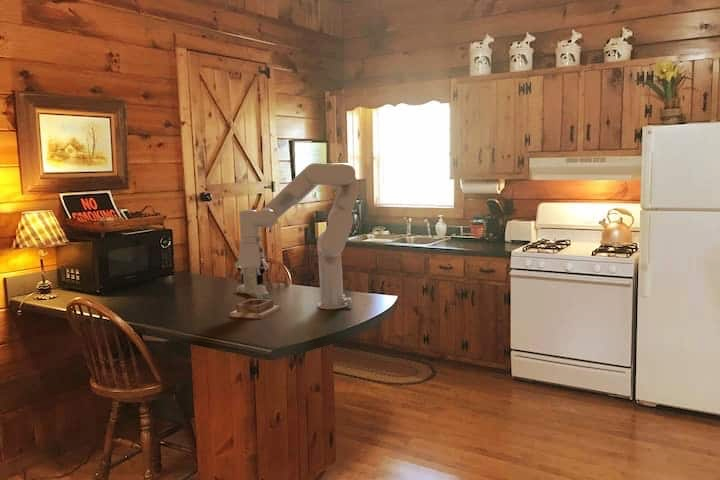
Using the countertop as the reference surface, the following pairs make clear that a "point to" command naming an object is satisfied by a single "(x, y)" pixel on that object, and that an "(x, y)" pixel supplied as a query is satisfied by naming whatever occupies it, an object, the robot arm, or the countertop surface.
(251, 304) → the socket stand
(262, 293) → the white elongated piece
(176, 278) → the countertop surface
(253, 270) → the skincare box
